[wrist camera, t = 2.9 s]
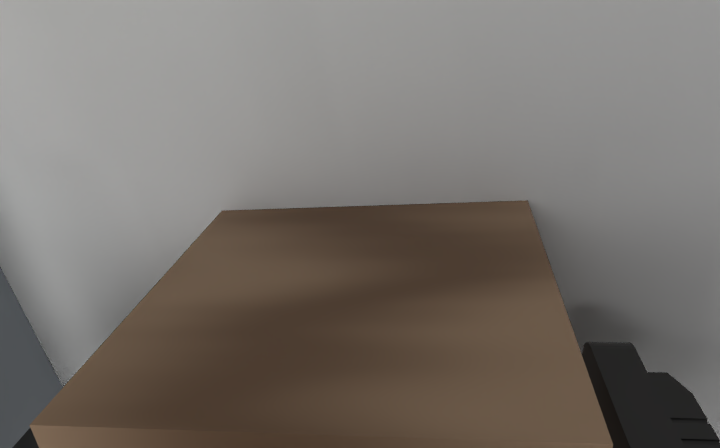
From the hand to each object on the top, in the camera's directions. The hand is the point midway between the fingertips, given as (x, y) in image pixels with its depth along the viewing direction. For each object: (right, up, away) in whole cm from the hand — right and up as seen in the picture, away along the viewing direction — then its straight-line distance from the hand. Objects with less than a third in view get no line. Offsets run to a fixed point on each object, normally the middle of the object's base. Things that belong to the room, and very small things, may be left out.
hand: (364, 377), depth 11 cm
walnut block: (0, +1, +1) cm, 2 cm away
